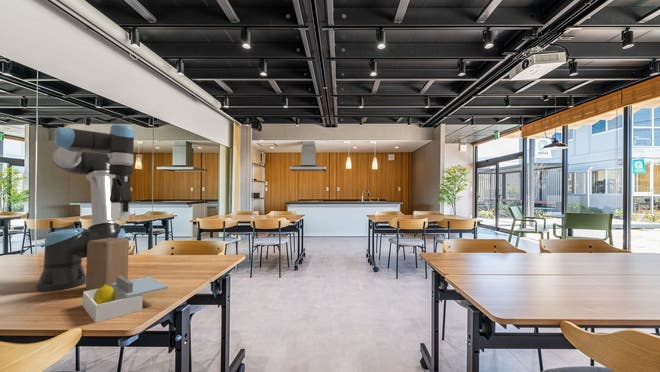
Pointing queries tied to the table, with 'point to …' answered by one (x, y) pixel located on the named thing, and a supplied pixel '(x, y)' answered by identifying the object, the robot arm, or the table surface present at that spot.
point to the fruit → (104, 295)
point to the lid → (137, 286)
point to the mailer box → (111, 305)
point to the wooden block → (106, 262)
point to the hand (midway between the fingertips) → (119, 219)
